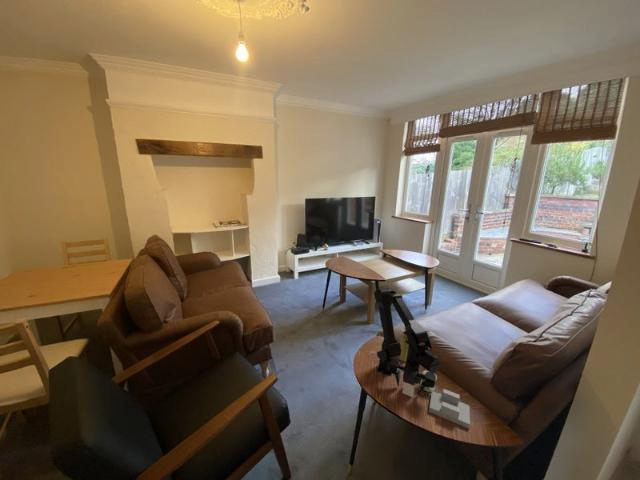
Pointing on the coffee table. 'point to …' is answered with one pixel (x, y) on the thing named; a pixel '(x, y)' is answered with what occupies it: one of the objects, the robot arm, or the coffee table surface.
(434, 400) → the notch board
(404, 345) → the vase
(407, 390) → the block
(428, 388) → the spool
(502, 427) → the coffee table surface
